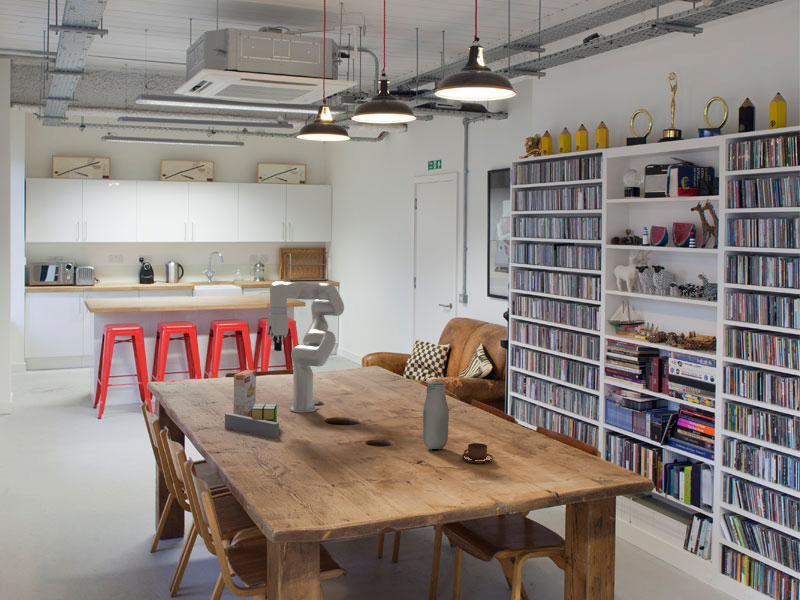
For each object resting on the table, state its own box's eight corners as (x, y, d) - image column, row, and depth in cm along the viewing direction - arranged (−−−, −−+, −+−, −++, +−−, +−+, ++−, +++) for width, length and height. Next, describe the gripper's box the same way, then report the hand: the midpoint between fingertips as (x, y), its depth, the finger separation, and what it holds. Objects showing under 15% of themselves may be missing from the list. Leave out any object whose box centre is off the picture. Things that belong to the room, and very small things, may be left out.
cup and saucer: (480, 467, 311) (480, 451, 310) (455, 461, 319) (455, 445, 318) (498, 461, 320) (499, 445, 319) (474, 455, 328) (474, 439, 327)
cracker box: (245, 420, 377) (245, 375, 375) (232, 419, 378) (232, 374, 377) (256, 413, 391) (256, 370, 389) (244, 412, 392) (244, 369, 390)
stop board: (229, 426, 366) (229, 412, 365) (278, 437, 349) (278, 423, 348) (224, 427, 364) (224, 413, 363) (274, 438, 347) (274, 424, 346)
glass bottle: (435, 444, 341) (437, 377, 339) (452, 450, 333) (454, 381, 331) (417, 448, 335) (419, 380, 333) (433, 454, 327) (435, 384, 325)
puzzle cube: (254, 425, 368) (254, 403, 367) (276, 425, 368) (276, 403, 367) (251, 431, 358) (251, 408, 357) (274, 431, 358) (274, 408, 357)
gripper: (283, 308, 383) (283, 348, 385) (260, 311, 371) (260, 351, 373) (295, 310, 379) (295, 349, 381) (272, 312, 367) (272, 353, 369)
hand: (277, 350), depth 377 cm, fingers closed
